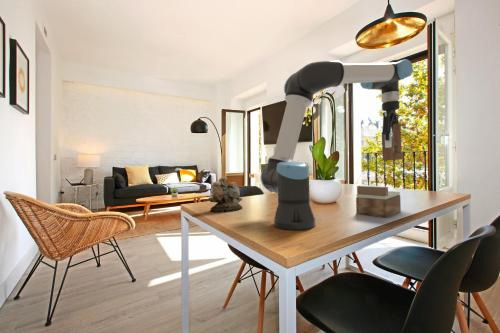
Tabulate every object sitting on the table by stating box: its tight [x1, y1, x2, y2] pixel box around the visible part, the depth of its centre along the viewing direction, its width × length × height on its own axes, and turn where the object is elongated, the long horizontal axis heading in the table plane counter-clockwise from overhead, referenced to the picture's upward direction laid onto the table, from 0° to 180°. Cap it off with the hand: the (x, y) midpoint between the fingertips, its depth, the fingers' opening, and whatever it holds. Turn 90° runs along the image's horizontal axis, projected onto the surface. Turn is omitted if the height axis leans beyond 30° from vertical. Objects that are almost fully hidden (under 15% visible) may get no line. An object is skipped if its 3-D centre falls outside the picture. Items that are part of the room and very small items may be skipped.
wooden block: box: [381, 123, 404, 162], centre depth 127 cm, size 4×11×18 cm, turn 114°
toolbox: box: [355, 194, 402, 218], centre depth 110 cm, size 12×17×7 cm
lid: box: [355, 185, 401, 200], centre depth 110 cm, size 12×17×5 cm
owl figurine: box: [208, 176, 243, 214], centre depth 129 cm, size 18×12×17 cm, turn 122°
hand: (392, 147), depth 126 cm, fingers open, 9 cm apart
